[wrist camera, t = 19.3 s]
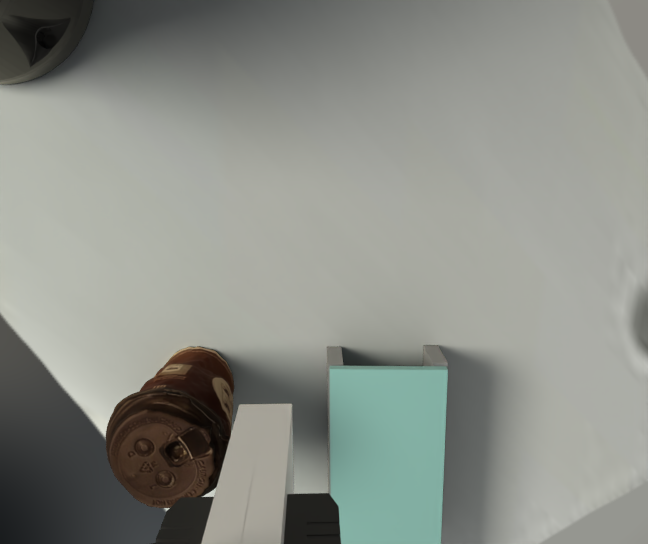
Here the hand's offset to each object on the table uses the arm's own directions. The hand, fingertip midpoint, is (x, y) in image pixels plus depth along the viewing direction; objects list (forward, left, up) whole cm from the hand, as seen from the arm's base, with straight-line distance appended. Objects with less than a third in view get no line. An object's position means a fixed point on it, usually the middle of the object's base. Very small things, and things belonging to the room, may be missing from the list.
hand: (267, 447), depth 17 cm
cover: (+18, +7, -28) cm, 34 cm away
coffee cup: (+12, -9, -33) cm, 36 cm away
